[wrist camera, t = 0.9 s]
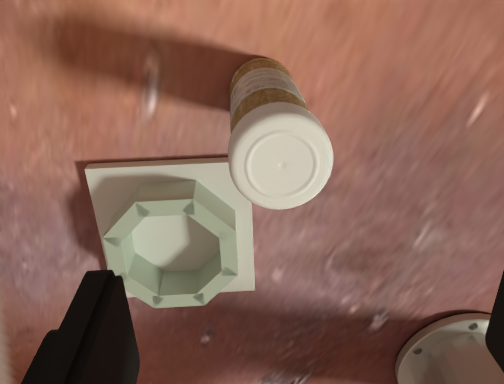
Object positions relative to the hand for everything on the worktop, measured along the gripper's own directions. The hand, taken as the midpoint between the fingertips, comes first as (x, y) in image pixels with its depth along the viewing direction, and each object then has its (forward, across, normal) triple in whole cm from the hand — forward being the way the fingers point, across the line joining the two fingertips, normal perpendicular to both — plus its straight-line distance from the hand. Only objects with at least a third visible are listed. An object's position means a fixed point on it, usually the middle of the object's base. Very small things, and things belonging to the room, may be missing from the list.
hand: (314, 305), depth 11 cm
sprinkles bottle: (+22, 0, 0) cm, 22 cm away
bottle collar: (+22, +7, +11) cm, 26 cm away
